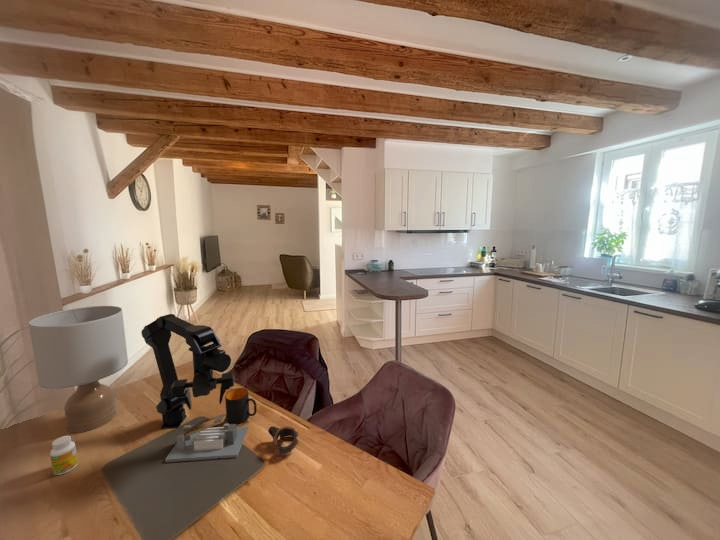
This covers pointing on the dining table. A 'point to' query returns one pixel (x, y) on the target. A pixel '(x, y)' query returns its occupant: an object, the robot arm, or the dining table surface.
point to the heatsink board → (208, 444)
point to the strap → (204, 425)
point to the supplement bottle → (63, 455)
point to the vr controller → (282, 432)
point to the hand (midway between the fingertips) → (205, 406)
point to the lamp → (81, 360)
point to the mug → (238, 406)
